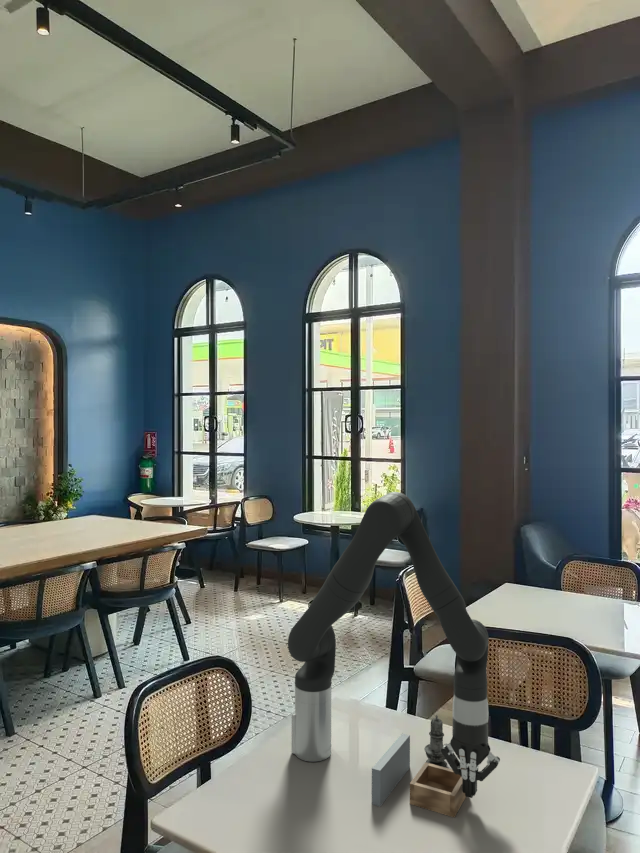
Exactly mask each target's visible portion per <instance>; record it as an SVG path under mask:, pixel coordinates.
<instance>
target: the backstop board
mask: <svg viewBox="0 0 640 853" xmlns="http://www.w3.org/2000/svg"><path fill="white" fill-rule="evenodd" d="M410 768H411V735H410V734H406V733H403V732H402V733H401V734H400V735H399V736H398V737H397V739H396V740H395V741H394V742H393V743H392V744H391V746H389V748H388V749H387V750H386V751H385V752H384V753H383V755H382V756H381V757H380V758H379V759H378V760H377V761H376V763H375V764H374V765H373V766H372V767H371V805H374V806H376V807H382V805H383V803H384V802H385V801H386V800H387V799H388V797H389V796H390V795H391V793H392V792H393V790H394V789H395V788H396V786H398V784H399V782H401V780H402V779H403V778H404V776H405V775H406V773H407V772H408V771H409V769H410Z"/></svg>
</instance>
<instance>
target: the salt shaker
mask: <svg viewBox="0 0 640 853" xmlns="http://www.w3.org/2000/svg"><path fill="white" fill-rule="evenodd" d="M434 716H435V717H434V718H432V719H431V720H430V731H429V732H428V735H429V737H430V738H429V739H430V740H429V741H430V742H429V744H427V745H425V746H424V752H425V755H426V758H427V760H425V762H426V763H430V764H434V765H437V766H441V767H445V768H447V766H448V762H447V761H446V759H445V757H444V756H443V754H442V753H441V749H442V747H443V746H444V737H445V733H444V732H443V727H444V726H443V720H441V719H440V718H439V716H438V715H434Z"/></svg>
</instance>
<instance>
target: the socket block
mask: <svg viewBox="0 0 640 853" xmlns="http://www.w3.org/2000/svg"><path fill="white" fill-rule="evenodd" d="M466 798H467V797H466V796H465V793H463V791H462V777H461V776H460V775H459V774H458V775H456V774H455V773H454V772H453V770H452V768H448V767H441V766H437V765H434V764H430V763H426V761H425V762H424V763H423V765H422V766H421V768H420V769H419V770H418V771H417V773H416V774H415V776H414V777H413V778H412V780H411V781H410V782H409V805H412V806H414V807H415V806H416V807H418V808H422V809H425V810H429V811H431V812H435V813H438V814H441V815H445V816H447V817H451V818H456V816H457V813H458V812H459V810H460V808H461V807H462V805H463V803H464V801H465V800H466Z"/></svg>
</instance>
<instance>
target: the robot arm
mask: <svg viewBox="0 0 640 853" xmlns="http://www.w3.org/2000/svg"><path fill="white" fill-rule="evenodd" d="M419 515H420V514H419V513H418V510H417V508H416V507H415V505H414V503H413V501H412V500H411V498H409V497H408V496H407V495H406V494H404V493H402V492H399V491H393V492H392V491H391V492H388V493H386V494H385V495H382V496H381V497H379V498H377V499H374V501H372V502H371V503H370V504H369V506H367V508H366V510H365V512H364V514H363V516H362V518H361V521H360V523H359V525H358V528H357V529H356V532H355V534H354V536H353V538H352V540H351V541H350V543H349V544H348V545H347V547H346V548H345V550H344V551H343V552H342V554H341V555H340V557H339V559H338V560H337V562H335V564H334V566H333V567H332V569H331V571H330V572H329V573H328V575H327V576H326V579H325V581H324V583H323V585H322V586H321V588H320V589H319V591H318V592H317V594H316V596H315V597H314V598H313V600H312V602H311V604H310V605H309V606H308V608H307V609H306V610H305V612H303V614H302V615H301V617H300V618H298V620H297V622H296V623H295V624H294V625H293V627H292V628H291V630H290V632H289V634H288V638H287V648H288V652H289V654H290V656H291V657H292V658H293V660H295V661H297V662H301V663H304V664H303V665H302V666H300V668H299V669H298V670H297V671H296V673H295V676H294V713H293V714H291V751H290V752H291V754H294V755H295V756H296V757H297V758H298V759H299V760H302V761H305V762H314V763H315V762H321V761H324V760H326V759H328V758H329V757H330V756H331V754H332V679H333V677H334V675H335V670H336V667H335V666H336V652H337V647H336V646H337V644H336V643H337V641H336V640H337V639H336V633H335V631H334V627H333V624H335V623H336V622H337V621H339V619H341V618H342V617H343V616H344V615H346V614H347V613H348V612H349V611H350V610H351V609H353V608H354V607H355V606H356V604H358V603H359V601H360V600H361V599H362V596H363V595H364V593H365V592H366V590H367V589H368V587H369V585H370V584H371V581H372V578H373V575H374V571H375V567H376V563H377V561H378V560H379V558H380V556H381V555H382V554H383V553H384V551H385V550H386V549H387V547H388V546H389V545H390V544H391V543H392V542H393V541H394V540H395V539H396V538H397V537H398V538H399V539H400V540H401V542H402V543H403V544H404V546H405V548H406V551H407V553H408V554H409V557H410V560H411V562H412V566H413V571H414V574H415V578H416V580H417V583H418V587H419V589H420V591H421V593H422V595H423V596H424V599H425V600H426V602H427V603H428V605H429V606H430V608H431V609H432V611H433V613H434V614H435V616H436V617H437V619H438V620H439V623H440V626H441V628H442V630H443V632H444V634H445V638H446V640H447V641H448V644H449V646H450V647H451V648H452V650H453V652H454V653H455V654H456V666H455V670H454V675H453V699H452V732H451V734H452V738H451V739H450V741H449V743H443V745H444V746H443V747H442V749H441V753H442V754H443V756H444V757H445V761H446V763H447V765H449V767H450V769H452V770H453V772H454V773H455V774H456V775H458V774H459V775H460V776H461V777H462V791H463V793H465V796H466V798H469V799H473V797H475V795H477V791H478V781H479V782H483V781H484V780H485V779H486V778H488V776H490V774H491V773H492V772H493V771H495V770H496V768H497V767H498V765H499V764H500V761H501V759H500V757H499V756H497V755H496V756H495V755H494V754H493V753H492V752H491V746H490V744H489V715H490V713H489V703H488V677H487V676H488V675H487V674H488V673H487V668H488V667H487V666H488V657H489V640H490V639H489V632H488V630H487V628H486V626H485V625H484V624H483V623H482V622H481V621H479V620H477V619H473V618H471V616H470V615H469V613H468V610H467V605H466V602H465V599H464V597H463V595H462V594H461V592H460V591H459V589H458V587H457V586H456V585H455V583H454V581H453V580H452V578H451V577H450V575H449V573H448V572H447V570H446V569H445V567H444V566H443V563H442V562H441V560H440V558H439V556H438V554H437V552H436V550H435V548H434V546H433V544H432V542H431V539H430V537H429V535H428V534H427V531H426V529H425V526H424V524H423V522H422V519H421V518H420V516H419ZM486 758H487V759H486ZM485 759H486V765H485V767H483V768H482V769H481V770H479V769H480V768H479V767H480V765H481V764H482V763H483V761H484V760H485Z"/></svg>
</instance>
